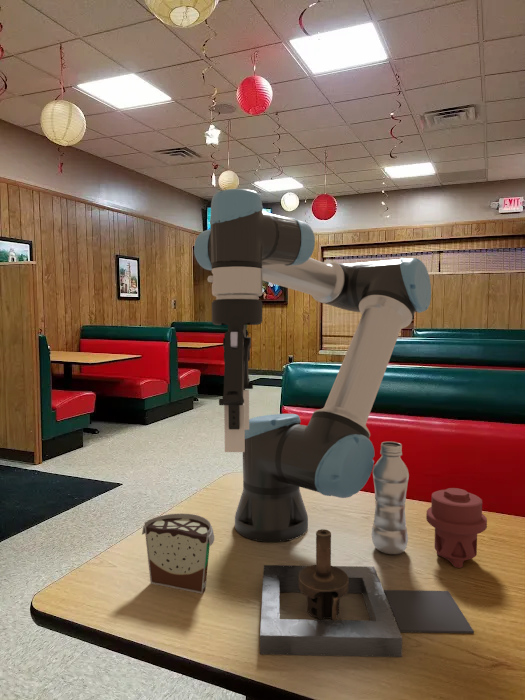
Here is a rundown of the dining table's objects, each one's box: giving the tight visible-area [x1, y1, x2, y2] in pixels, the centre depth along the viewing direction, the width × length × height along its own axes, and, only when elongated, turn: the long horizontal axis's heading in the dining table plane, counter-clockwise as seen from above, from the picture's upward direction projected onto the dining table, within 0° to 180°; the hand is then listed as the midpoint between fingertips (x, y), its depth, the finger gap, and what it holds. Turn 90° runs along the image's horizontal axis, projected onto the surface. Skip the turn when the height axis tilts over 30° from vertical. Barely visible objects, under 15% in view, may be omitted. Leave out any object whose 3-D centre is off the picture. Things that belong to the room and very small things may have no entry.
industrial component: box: [299, 528, 348, 620], centre depth 71 cm, size 9×7×12 cm
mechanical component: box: [426, 487, 488, 569], centre depth 87 cm, size 12×10×10 cm
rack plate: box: [259, 564, 403, 658], centre depth 71 cm, size 18×18×2 cm
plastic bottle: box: [371, 441, 410, 555], centre depth 90 cm, size 6×7×20 cm
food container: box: [141, 513, 215, 595], centre depth 81 cm, size 12×6×10 cm, turn 71°
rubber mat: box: [383, 589, 475, 634], centre depth 72 cm, size 10×10×1 cm
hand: (238, 439), depth 74 cm, fingers open, 13 cm apart
